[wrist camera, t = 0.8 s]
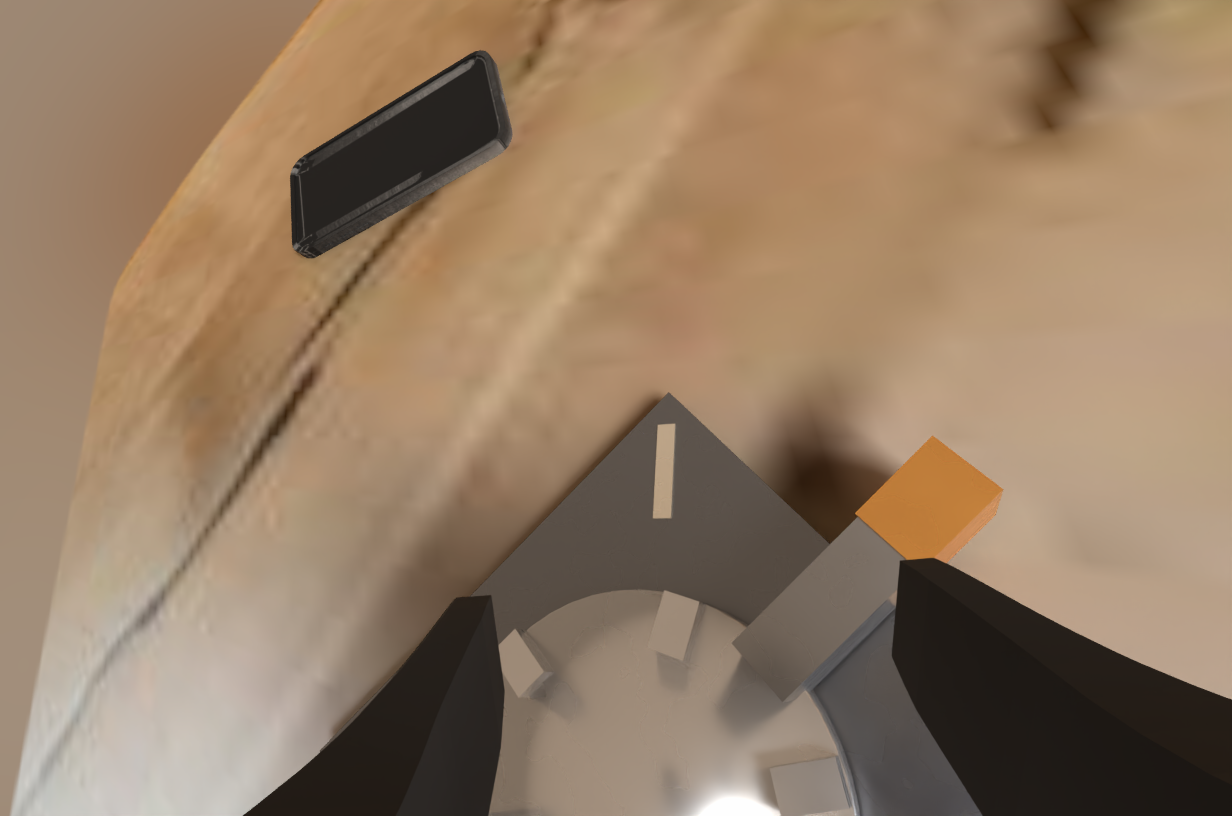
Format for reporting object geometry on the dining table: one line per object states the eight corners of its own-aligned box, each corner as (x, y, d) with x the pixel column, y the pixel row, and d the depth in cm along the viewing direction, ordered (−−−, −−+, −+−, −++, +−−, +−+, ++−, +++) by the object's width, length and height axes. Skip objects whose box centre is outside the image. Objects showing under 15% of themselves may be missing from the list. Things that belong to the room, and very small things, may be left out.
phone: (289, 164, 45) (486, 43, 41) (303, 175, 46) (497, 57, 41) (292, 259, 41) (508, 137, 37) (307, 269, 42) (519, 151, 38)
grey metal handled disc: (1178, 659, 18) (1222, 655, 15) (627, 1188, 19) (571, 1276, 16) (807, 367, 25) (790, 327, 22) (413, 767, 26) (348, 778, 23)
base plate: (1183, 879, 18) (1202, 895, 17) (640, 1387, 19) (616, 1443, 18) (681, 405, 28) (668, 391, 27) (346, 747, 29) (317, 751, 28)
